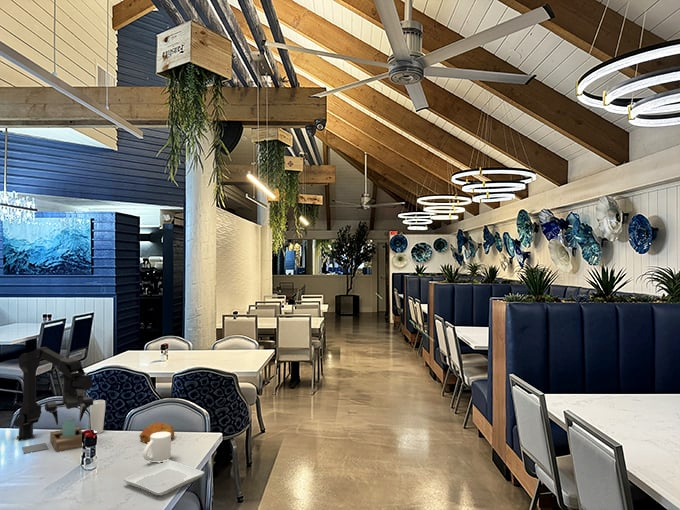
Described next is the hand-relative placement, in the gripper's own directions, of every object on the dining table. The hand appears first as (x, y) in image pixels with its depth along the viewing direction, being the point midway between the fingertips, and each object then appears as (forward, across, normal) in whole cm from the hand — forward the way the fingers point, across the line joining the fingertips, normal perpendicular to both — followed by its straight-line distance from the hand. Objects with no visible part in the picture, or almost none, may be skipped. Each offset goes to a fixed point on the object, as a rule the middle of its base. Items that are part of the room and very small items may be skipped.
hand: (68, 423), depth 219 cm
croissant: (+10, +34, -17) cm, 39 cm away
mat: (+10, -12, +2) cm, 16 cm away
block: (+6, 0, 0) cm, 6 cm away
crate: (+10, 0, 0) cm, 10 cm away
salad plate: (+10, +20, -67) cm, 70 cm away
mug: (+10, +25, -44) cm, 51 cm away
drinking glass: (+10, +14, +9) cm, 20 cm away
